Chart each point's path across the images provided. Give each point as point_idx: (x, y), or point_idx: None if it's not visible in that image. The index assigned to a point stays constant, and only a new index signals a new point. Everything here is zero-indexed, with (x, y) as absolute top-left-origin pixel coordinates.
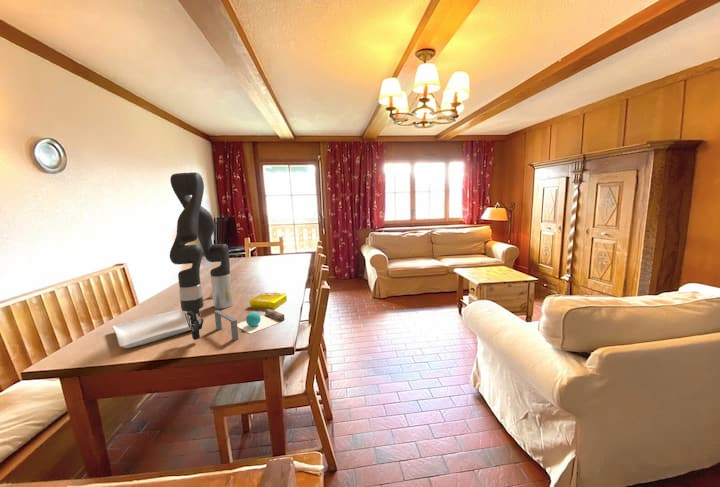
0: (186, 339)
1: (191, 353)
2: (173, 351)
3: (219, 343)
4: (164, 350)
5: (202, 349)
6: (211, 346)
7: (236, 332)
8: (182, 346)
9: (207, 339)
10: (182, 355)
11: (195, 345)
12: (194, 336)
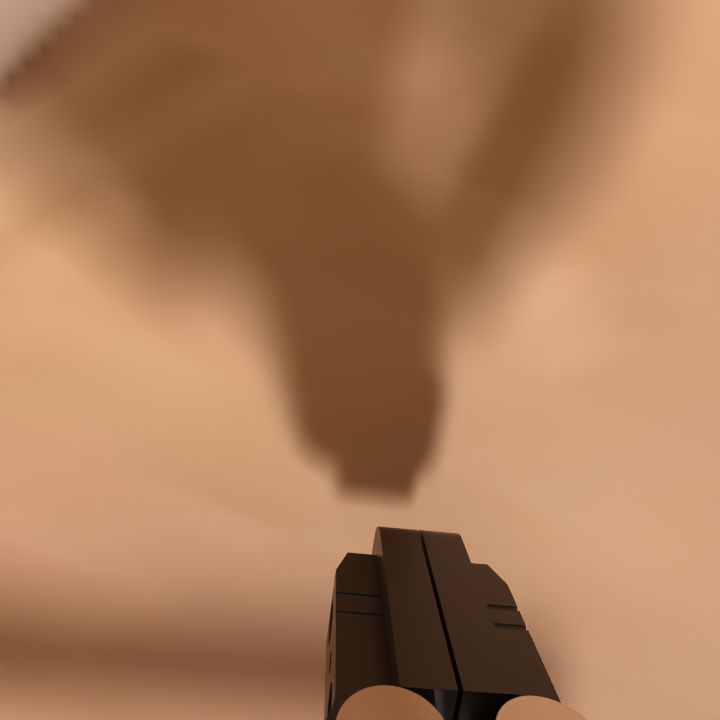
0: (696, 483)
1: (18, 269)
2: (429, 101)
3: (12, 705)
4: (655, 8)
5: (19, 458)
6: (8, 592)
7: None
8: (481, 310)
9: None
10: (78, 123)
11: (298, 462)
12: (383, 587)
